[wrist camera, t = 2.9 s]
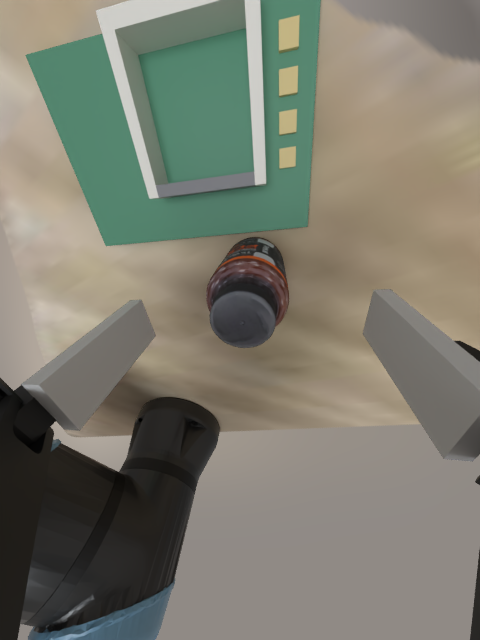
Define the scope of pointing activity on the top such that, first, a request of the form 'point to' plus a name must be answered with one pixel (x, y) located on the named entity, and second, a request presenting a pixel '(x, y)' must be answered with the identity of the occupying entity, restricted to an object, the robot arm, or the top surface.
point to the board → (189, 115)
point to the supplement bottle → (248, 293)
